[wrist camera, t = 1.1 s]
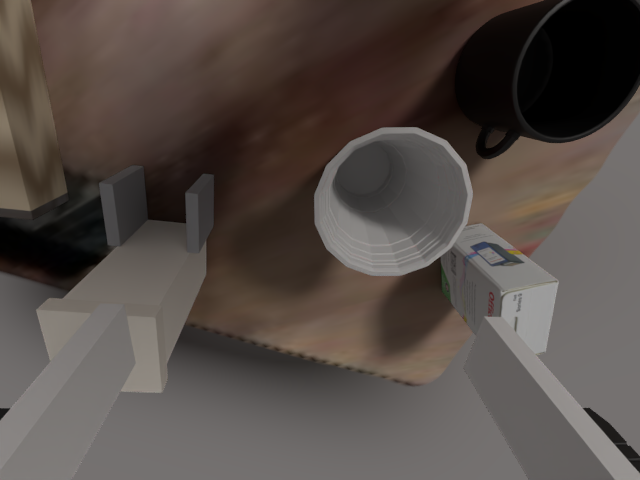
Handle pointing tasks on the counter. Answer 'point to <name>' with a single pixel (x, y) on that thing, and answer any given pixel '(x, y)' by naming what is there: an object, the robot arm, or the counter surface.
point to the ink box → (498, 285)
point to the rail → (26, 121)
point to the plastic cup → (392, 201)
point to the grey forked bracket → (140, 275)
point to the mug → (550, 70)
